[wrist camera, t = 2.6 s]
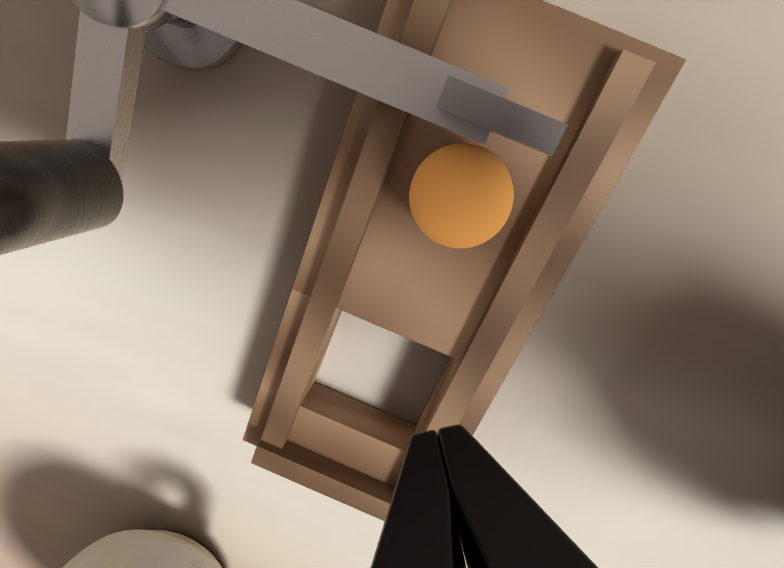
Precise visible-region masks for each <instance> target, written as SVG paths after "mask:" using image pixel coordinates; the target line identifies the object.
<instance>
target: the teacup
mask: <svg viewBox="0 0 784 568" xmlns="http://www.w3.org/2000/svg"><path fill="white" fill-rule="evenodd" d="M62 568H222V567H221V565H220V563H219V562H218V561H217V560H216V558H215V557H214V556H213V555H212V554H211V553H210V552H209V551H208V550H207V549H206V548H205V547H203V546H202V545H200V544H199V543H197V542H196V541H195V540H193V539H191V538H188V537H186V536H184V535H182V534H179V533H175V532H171V531H166V530H139V529H135V530H125V531H120V532H116V533H113V534H110V535H107V536H105V537H103V538H101V539H99V540H97V541H95V542H94V543H92V544H91V545H89V546H88V547H86V548H85V549H83V550H82V551H81V552H79V553H78V554H77V555H76V556H75V557H73V558H72V559H71V560H70V561H69V562H68V563H67V564H65V565H64V566H63V567H62Z"/></svg>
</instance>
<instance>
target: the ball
mask: <svg viewBox="0 0 784 568" xmlns="http://www.w3.org/2000/svg"><path fill="white" fill-rule="evenodd" d="M513 200H514V190H513V183H512V179H511V176H510V174H509V171H508V170H507V168H506V166H505V165H504V163H503V162H502V161H501V160H500V159H499V158H498V157H497V156H496V155H495V154H494V153H492V152H491V151H489V150H487V149H486V148H484V147H481V146H478V145H474V144H468V143H457V144H452V145H448V146H445V147H442V148H440V149H438V150H436V151H435V152H433V153H432V154H430V155H429V156H428V157H427V158H426V159H425V160H424V161H423V162H422V163H421V164H420V166H419V167H418V169H417V170H416V172H415V174H414V176H413V179H412V182H411V186H410V192H409V203H410V209H411V212H412V216H413V218H414V220H415V222H416V224H417V225H418V227H419V228H420V230H421V231H422V232H423V233H424V234H425V235H426V236H427V237H428V238H430V239H431V240H433V241H434V242H436V243H438V244H440V245H443V246H446V247H450V248H470V247H474V246H477V245H480V244H482V243H484V242H486V241H488V240H489V239H491V238H492V237H493V236H495V235H496V234H497V233H498V232H499V231H500V230H501V228H502V227H503V226H504V224H505V223H506V221H507V220H508V217H509V215H510V213H511V210H512V206H513Z"/></svg>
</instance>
